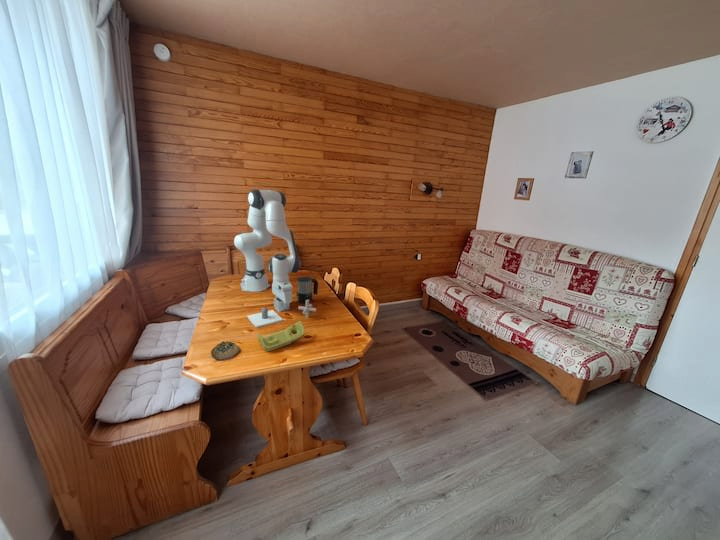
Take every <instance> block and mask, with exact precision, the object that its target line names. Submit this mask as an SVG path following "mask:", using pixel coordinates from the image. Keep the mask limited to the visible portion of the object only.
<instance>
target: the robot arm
mask: <svg viewBox="0 0 720 540" xmlns="http://www.w3.org/2000/svg"><path fill="white" fill-rule="evenodd" d="M247 202H248V205H249V208H248V215H247V221H246V222H247V224H248V226H249V227H250V228H252V232H242V233H241V234H237V235H236V236H234V238H233V244H234V246H235V248H236V249H237V250H239V251H240V252H241V253H242V254H243V256H244V258H245V265H246V266H245V267H246V269H245V275H244V276H243V278H241V282H240V283H239V285H240V287H241V291H242V292H250V293H251V292H252V293H253V292H254V293H257V292H263V291H265V290H267V289H268V288H270V286H271V292H272V295H274V296H275V298H279V299H281V300H282V301H283V303H284V304H283V308H287V304H288V303H289V304H292V301H293V287H294V286H293V285H292V283H291V281H290V276H289V273H291V274H296V273H299V271H300V270H301V261H300V257H299V255H298V250H297V245H296V240H295V238H294V237H295V236H294V234H293V231H292V230H291V229H290V228H289V227H288V225H287V221H286V212H285V209H284V208H285V206H286V204H287V198H286V196H285V194H284V192H281V191H279V190H271V189H256V188H255V189H251V190H250V191H249V192H248V194H247ZM272 236H274V237H277V238H279V239H283V240H284V241H286V243H287V247H288V251H289V256H287V255H286V254H284V253H283V254H282V253H277V254H275V255H273V257H271V258H270V259H269V260H268V261H267V263H268V272H269V273H271V274H273V275H272V284H271V285H270V283H268V282H269V281H268V276H267V274H266V269H265V261H264V256H263V255H261V254H259V253H257V250H258V249H263V248H266V247H268V246H271V244H272V242H273V237H272Z"/></svg>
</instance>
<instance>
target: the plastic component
mask: <svg viewBox="0 0 720 540" xmlns="http://www.w3.org/2000/svg"><path fill="white" fill-rule="evenodd" d="M305 329H306V328H305V326H304V324H303V323H302V320H298V321H296V322H295V324H292V325H290V326H288V327H286V328H285V329H283V330H280V331H277V332H273V333H271V334H268V335H265V336H262V335H261V333H258V335H257V336H258V337H257V339H258V341H259V342H260V343H261V346H262V348H263V350H265V351H266V352H271V351H274V350H276V349H279V348H282V347H283V348H284V347H285V346H288V345H290V344H291V343H292V342H294V341H296V340H298V339H300V338H301V337H302V336H303V335H304V334H305Z"/></svg>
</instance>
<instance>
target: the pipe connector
mask: <svg viewBox="0 0 720 540" xmlns="http://www.w3.org/2000/svg"><path fill="white" fill-rule="evenodd" d="M297 309H298V310H299V311H300V310H301V311H302V315H305V318H306V319H309V318H310V312H314V313H315V312H317V308H315V307H313V304H312V303H309V300H306V303H305V306H303V305H302V306H301V305H298V307H297Z"/></svg>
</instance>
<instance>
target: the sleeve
mask: <svg viewBox="0 0 720 540" xmlns="http://www.w3.org/2000/svg"><path fill="white" fill-rule="evenodd" d="M283 304H284V303H283V301H282V300H281V299H279V298H276V297H275V298H274V297H273V308H274V309H275V310H276V311H277V312H280V313H281V312H285V311H288V310H290V309H291V307H290V304H291V303H288V304H287V308H283Z"/></svg>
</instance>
